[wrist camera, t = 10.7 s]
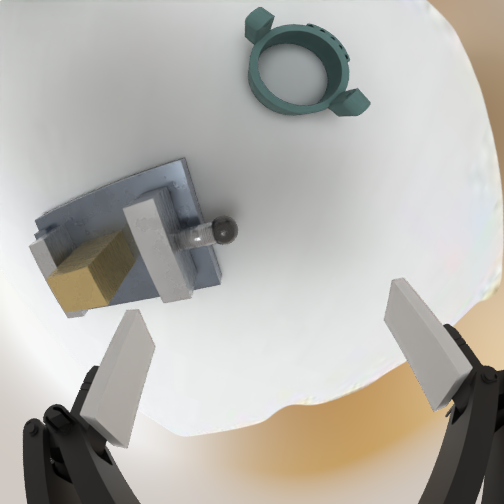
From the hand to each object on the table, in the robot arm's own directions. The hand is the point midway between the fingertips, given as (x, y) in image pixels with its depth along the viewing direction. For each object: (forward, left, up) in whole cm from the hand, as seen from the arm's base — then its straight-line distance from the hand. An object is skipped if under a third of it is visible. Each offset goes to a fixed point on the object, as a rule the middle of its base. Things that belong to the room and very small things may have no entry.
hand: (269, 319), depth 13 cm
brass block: (0, -17, -15) cm, 23 cm away
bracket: (-13, +7, -17) cm, 23 cm away
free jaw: (0, -6, -15) cm, 16 cm away
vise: (0, -16, -17) cm, 23 cm away
